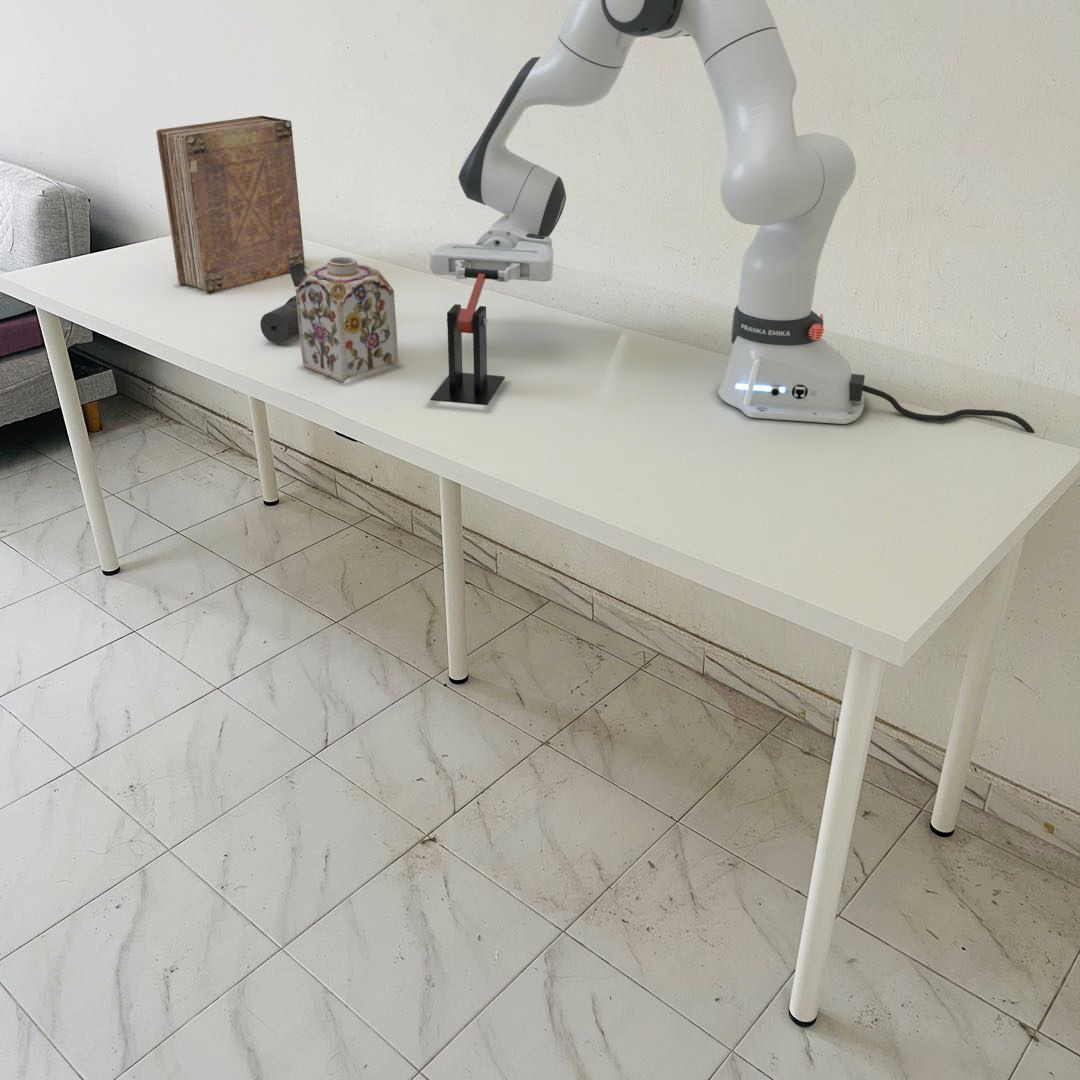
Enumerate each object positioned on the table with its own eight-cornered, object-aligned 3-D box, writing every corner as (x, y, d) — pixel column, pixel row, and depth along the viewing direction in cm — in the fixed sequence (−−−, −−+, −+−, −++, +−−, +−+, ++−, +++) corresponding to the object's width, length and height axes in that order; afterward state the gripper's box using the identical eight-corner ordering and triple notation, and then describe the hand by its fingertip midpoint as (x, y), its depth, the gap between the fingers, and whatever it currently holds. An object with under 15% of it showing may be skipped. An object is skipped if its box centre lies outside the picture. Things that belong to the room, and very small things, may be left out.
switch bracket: (451, 378, 178) (448, 295, 172) (504, 383, 177) (504, 300, 170) (430, 406, 168) (426, 319, 161) (486, 411, 167) (485, 324, 160)
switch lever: (467, 275, 175) (466, 263, 173) (501, 278, 174) (499, 266, 172) (448, 331, 167) (446, 319, 165) (483, 334, 166) (481, 322, 164)
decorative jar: (300, 367, 182) (289, 259, 173) (355, 350, 190) (348, 246, 181) (345, 385, 175) (336, 274, 166) (401, 367, 183) (395, 260, 174)
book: (205, 294, 217) (183, 135, 202) (178, 285, 222) (154, 130, 207) (305, 268, 234) (291, 119, 219) (278, 260, 239) (262, 115, 224)
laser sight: (252, 341, 193) (245, 286, 188) (320, 306, 211) (316, 254, 206) (299, 349, 190) (294, 293, 185) (364, 312, 208) (361, 260, 203)
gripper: (441, 230, 184) (417, 251, 172) (560, 238, 181) (544, 259, 169) (443, 267, 187) (419, 290, 176) (559, 275, 184) (543, 299, 172)
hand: (481, 275), depth 172 cm, fingers closed on switch lever, 5 cm apart
